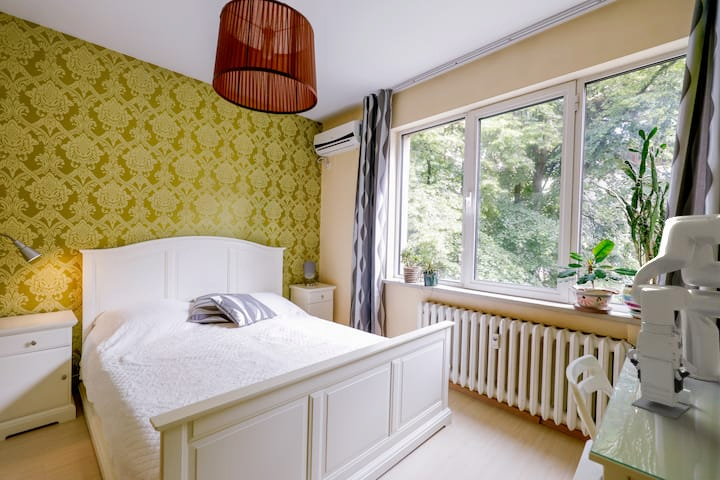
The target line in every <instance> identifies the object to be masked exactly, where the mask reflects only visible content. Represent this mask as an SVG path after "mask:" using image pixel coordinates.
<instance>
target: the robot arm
mask: <svg viewBox="0 0 720 480" xmlns="http://www.w3.org/2000/svg"><path fill="white" fill-rule="evenodd" d="M712 245H720V213H715V214H712V213H711V214H698V215H697V214H696V215H682V216H675V217H670V218H668V219H667V220H666V221H665V222H664V228H663V232H662V236H661V238H660V244H659V248H658V253H657V256H656V257H655V258H652V259H651V260H649V261H648V262H646V263H645V264H643V265H642V266H641V267H640V268H639V269H638V270H637V272H636V273H635V275H634V278H633V281H632V284H631V291H630V298H631V300H632V302H633V303H634V304H636V305H637V306H639V307H640V321H641V322H640V323H641V329H639V331H638V334H637V340H636V347H635V348H634V349H631V350H630V351H627V352H625V356H626V358H628V360H629V361H630V363H631V364H632V365H633V366H634V367H635V369H636V370H637V379H638V380H639V384H640V383H641V371H640V357H642V356H643V357H647V358H652V359H657V360H661V361H666V362H670V363H672V364H673V370H674V375H675V379H674V392H675V393H679V392H680V391H681V390H683V389H684V379H685V378H687V377H690V378H691V379H692V378H694V379H696V380H700V381H708V382H715V383H716V382H720V330H719V328H718V326H717V325H716V324H715V322H713V321H712V319H711V318H715V319H716V318H717V319H720V291H717V290H708V289H707V290H706V289H705V290H704V289H694V288H693V289H687V288H685V287H684V286H683V287H682V286H679V285H666V284H665V285H664V284H655V283H654V284H653V283H649V282H650V281H651V280H653V279H654V278H656V277H658V276H661V275H664V274H668V273H672V272H675V271H676V272H677V271H678V270H681V273H680V274H681V279H682V281H683V283H684V284H685V285H688V286H691V287H701V288H713V289H715V288H718V289H720V261H715V259H714V252H713V251H714V250H713V247H712ZM675 311H679V312H680V319H681V327H678V326H676V323H675ZM678 333H679V334H681V337H682V338H681V339H682V341H681V339H680V335H679V334H678ZM634 355H635V356H636V357H635V356H634Z"/></svg>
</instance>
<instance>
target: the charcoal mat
mask: <svg viewBox="0 0 720 480" xmlns="http://www.w3.org/2000/svg"><path fill="white" fill-rule="evenodd" d="M631 405H632V406H634V407H636V408H640V409H643V410H647V411H649V412H652V413H655V414H658V415H662V416H663V417H667V418H671V419H673V420H677V418H679V417H680V416H682V414H684V413H685V412H686V411H687V410H689V409H690V405H687V404H684V403H681V402H677V403H676V404H675V405H674V406H673V407H671V406H668V405H664V404H661V403H657V402H654V401H650V400H647V399H643V398H642V396H641V397H639V398H638V399H637V400H635V401H633V402H631Z"/></svg>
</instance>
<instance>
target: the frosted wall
mask: <svg viewBox="0 0 720 480" xmlns="http://www.w3.org/2000/svg"><path fill="white" fill-rule="evenodd" d="M639 384H640V388H639V389H641V383H640V382H639ZM691 392H692V391H691V390H689V389H686V388H683V390H681V391H680V392H679V401H678V402H677V403H681V404H684V405H687V406H690V405H691V404H692V393H691Z"/></svg>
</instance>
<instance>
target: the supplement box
mask: <svg viewBox="0 0 720 480" xmlns="http://www.w3.org/2000/svg"><path fill="white" fill-rule="evenodd" d="M639 362H640V371H641V388H640V391H641V397H642V398H643V399H647V400H650V401H654V402H657V403H661V404H664V405H668V406H671V407H673V406H674V405H675V404H676V403H679V402H678V401H679V393H675V392H674V379H675V375H674V370H673V364H672V363H670V362H666V361H661V360H657V359H652V358H647V357H643V356H642V357H640V361H639Z"/></svg>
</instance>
